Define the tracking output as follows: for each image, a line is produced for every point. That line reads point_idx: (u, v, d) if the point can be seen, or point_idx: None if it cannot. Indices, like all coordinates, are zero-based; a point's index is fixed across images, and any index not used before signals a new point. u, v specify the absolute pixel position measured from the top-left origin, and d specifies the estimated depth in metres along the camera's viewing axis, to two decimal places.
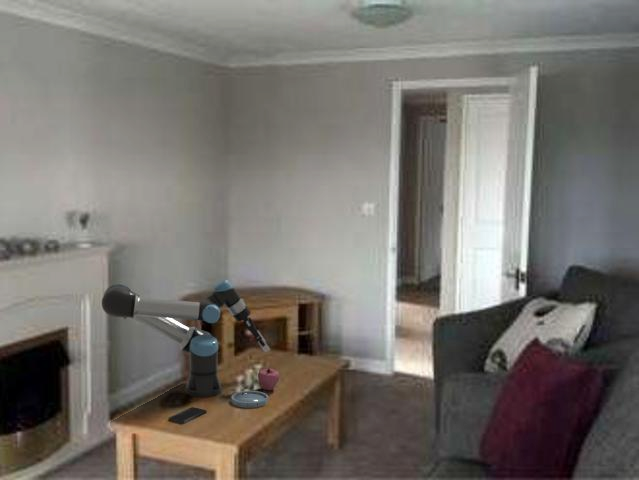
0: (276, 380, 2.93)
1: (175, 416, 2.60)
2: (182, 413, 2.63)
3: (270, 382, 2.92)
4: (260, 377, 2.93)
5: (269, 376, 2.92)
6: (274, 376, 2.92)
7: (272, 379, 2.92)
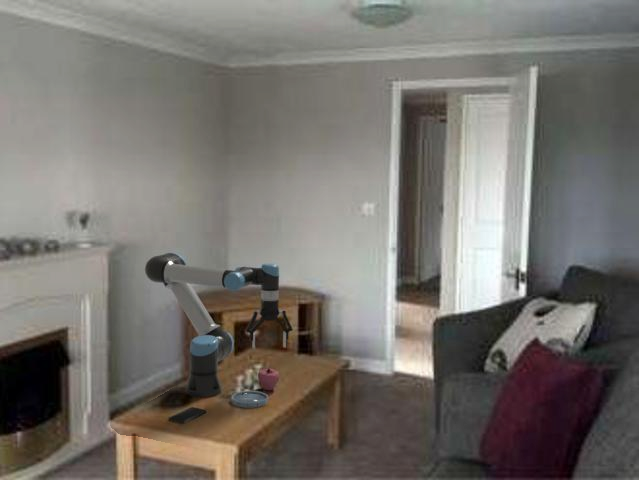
0: (276, 380, 2.93)
1: (175, 416, 2.60)
2: (182, 413, 2.63)
3: (270, 382, 2.92)
4: (260, 377, 2.93)
5: (269, 376, 2.92)
6: (274, 376, 2.92)
7: (272, 379, 2.92)
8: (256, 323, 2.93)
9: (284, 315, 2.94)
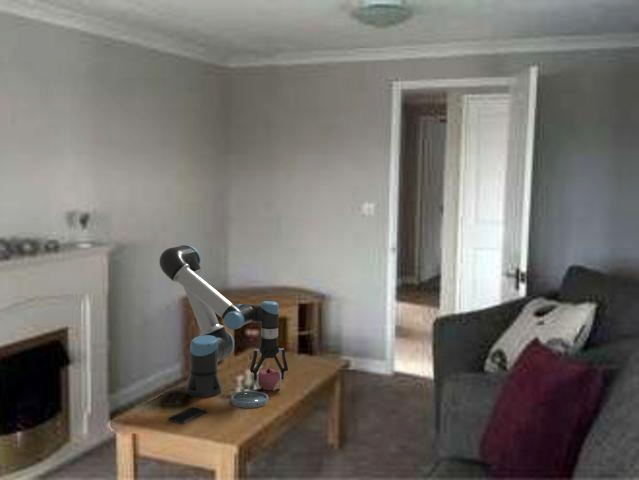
0: (276, 380, 2.93)
1: (175, 416, 2.60)
2: (182, 413, 2.63)
3: (270, 382, 2.92)
4: (260, 377, 2.93)
5: (269, 376, 2.92)
6: (274, 376, 2.92)
7: (272, 379, 2.92)
8: (258, 362, 2.95)
9: (283, 354, 2.95)
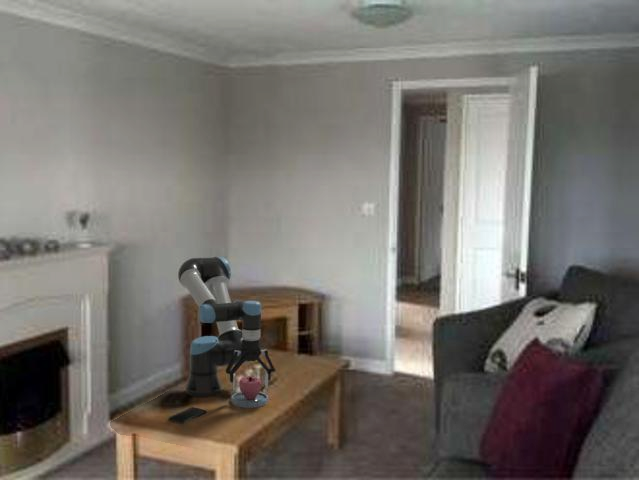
0: (258, 389, 2.77)
1: (175, 416, 2.60)
2: (182, 413, 2.63)
3: (251, 391, 2.76)
4: (241, 385, 2.77)
5: (250, 385, 2.76)
6: (256, 385, 2.76)
7: (253, 388, 2.76)
8: (236, 363, 2.78)
9: (266, 355, 2.79)
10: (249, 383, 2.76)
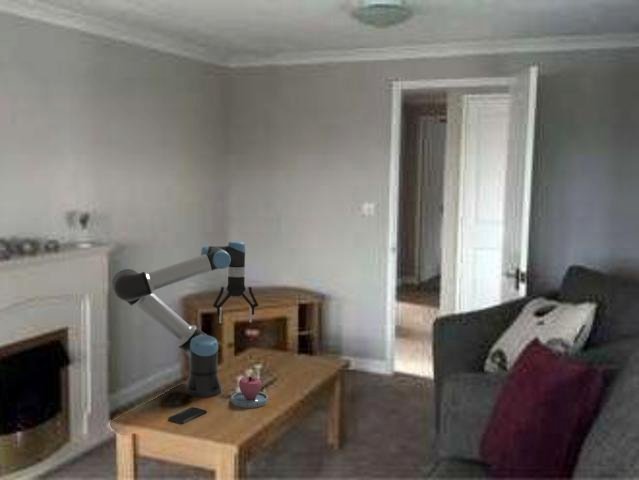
0: (258, 389, 2.77)
1: (175, 416, 2.60)
2: (182, 413, 2.63)
3: (251, 391, 2.76)
4: (241, 385, 2.77)
5: (250, 384, 2.76)
6: (256, 384, 2.76)
7: (253, 388, 2.76)
8: (223, 298, 3.04)
9: (250, 291, 3.05)
10: (249, 383, 2.76)
